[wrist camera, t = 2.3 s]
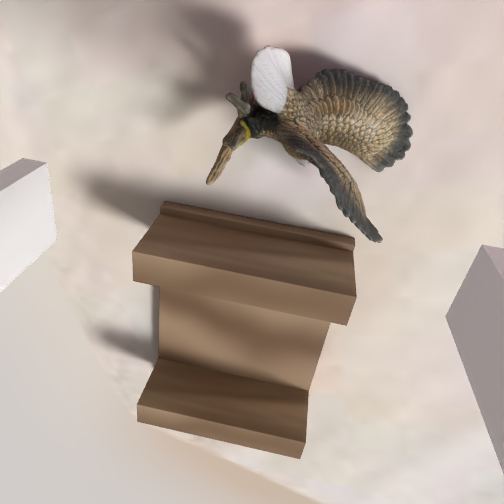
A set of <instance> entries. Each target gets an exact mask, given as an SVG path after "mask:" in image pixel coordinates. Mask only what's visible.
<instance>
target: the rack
mask: <svg viewBox="0 0 504 504" xmlns="http://www.w3.org/2000/svg"><path fill="white" fill-rule="evenodd" d="M354 247H355V238H351V237H345V236H340V235H335V234H330V233H325V232H320V231H315V230H310V229H305V228H299V227H294V226H289V225H284V224H279V223H274V222H269V221H264V220H259V219H253V218H248V217H243V216H238V215H233V214H228V213H223V212H218V211H213V210H207V209H202V208H197V207H192V206H187V205H182V204H177V203H172V202H167V201H165V202H164V203H163V204H162V205H161V208H160V215H159V216H158V218H157V219H156V220H155V222H154V223H153V224H152V226H151V227H150V228H149V230H148V231H147V232H146V234H145V235H144V236H143V238H142V239H141V240H140V242H139V243H138V244H137V246H136V247H135V248H134V250H133V251H132V260H133V281H135V282H140V283H145V284H150V285H155V286H159V358H158V360H157V363H156V365H155V367H154V369H153V371H152V373H151V375H150V378H149V380H148V382H147V384H146V386H145V388H144V390H143V393H142V395H141V397H140V399H139V401H138V403H137V421H138V422H141V423H146V424H150V425H154V426H159V427H163V428H167V429H172V430H176V431H180V432H185V433H189V434H193V435H198V436H202V437H206V438H211V439H215V440H219V441H224V442H228V443H232V444H237V445H241V446H245V447H250V448H254V449H258V450H263V451H267V452H271V453H276V454H280V455H284V456H289V457H293V458H298V459H300V458H301V455H302V452H303V449H304V446H305V443H306V428H307V411H308V393H309V388H310V385H311V382H312V379H313V376H314V373H315V370H316V366H317V363H318V360H319V357H320V354H321V351H322V348H323V344H324V341H325V338H326V335H327V332H328V329H329V326H330V322H332V323H336V324H341V325H346V326H347V323H348V320H349V317H350V315H351V312H352V309H353V306H354V303H355V300H356V284H355V271H354V259H353V250H354Z"/></svg>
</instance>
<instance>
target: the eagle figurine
mask: <svg viewBox="0 0 504 504" xmlns="http://www.w3.org/2000/svg"><path fill="white" fill-rule="evenodd" d="M250 76H251V88H252V91H253V93H251V94H250V95H249V90H248V86H247V84H246V83H245V81H241V83H240V90H241V92H242V95H241V100H240V99H239V98H238V97H237V96H235V95H234V94H231V93H228V94H227V95H226V99H227V100H228V101H229V102H231V103H232V104H233V105H234V106H235V107H236V108H237V110H238V115H239V116H238V117H237V119H236V121H235V123H234V124H233V126H232V128H231V129H230V131H229V132H228V134H227V135H226V136H225V137H224V139H223V145H222V147H221V149H220V152H219V154H218V157H217V159H216V162H215V164H214V166H213V168H212V169H211V171H210V173H209V175H208V177H207V180H206V184H208V185H210V184H212V183H213V182H215V180H216V179H217V178H218V177H219V176H220V175H221V173H222V171H223V169H224V167H225V165H226V163H227V162H228V161H229V160H230V157H231V154H232V152H233V151H234V150H235V149H236V148H237V147H239V146H241V145H242V144H243V143H245V142H246V141H247V140H248V139H249V138H257V139H258V138H261V137H263V136H267V137H269V138H273V139H275V140H277V141H279V142H281V143H282V144H283V146H284V148H285V150H286V151H287V152H288V153H289V154H290V155H291V156H293V157H294V158H295V159H296V161H297V162H298V163H299V164H301V165H303V166H304V167H305V166H307V165H308V164H309V162H310V163H312V164H313V165H315V166H316V167H317V168H318V169H319V171H320V175H321V177H322V178H324V180H325V181H326V183H327V184H328V185H329V187H330V192H331V193H332V194H333V195H334V196H335V198H336V204H337V207H338V208H339V210H342V212H343V214H344V216H345V217H349V219H350V221H351V222H352V223H354V224H355V226H356V227H357V228H358V229H359V230H360V231H361V232H362V233H363V234H365V236H366V237H367V238H368V239H369V240H371V241H374V242H378V243H381V241H382V240H383V239H382V237H381V236H380V235H379V234H378V230H377V229H376V228H375V227H374V226H373V224H372V223H371V222H370V220H369V219H368V218H367V217H366V213H365V207H364V204H363V200H362V197H361V194H360V191H359V189H358V186H357V183H356V182H355V180H354V179H353V178H352V176H351V174H350V173H349V172H348V170H347V169H346V167H345V166H344V165H343V164H342V162H341V161H340V160H339V159H338V158H337V157H336V156H335V155H334V154H333V153H332V152H331V151H330V150H329V149H328V147H326V146H325V145H324V144H328V145H333V146H337V147H340V148H342V149H345V150H347V151H349V152H350V153H353V154H355V155H357V156H359V157H360V158H361V159H362V160H363V161H364V163H366V164H367V165H369V166H370V167H371V168H372V169H373V170H375V171H377V172H381V171H383V169H384V168H385V167H392V166H393V165H394V162H395V160H401V159H403V158H404V157H405V151H408V150H409V149H410V147H411V144H410V141H409V138H410V137H411V136H412V135H413V132H412V129H411V127H410V126H409V125H408V124H407V122H408V121H410V118H411V116H410V115H409V114H408V113H407V110H408V105H407V103H405V100H404V99H403V98H402V97H400V94H399V92H397V91H395V90H393V89H392V87H391V86H384V85H383V84H380V83H378V82H377V81H372V82H369V80H368V79H364V78H362V77H361V76H353V74H352V73H351V72H347V71H346V70H344V69H341V70H339V69H333V70H327V69H324V70H322V72H318V73H316V75H315V78H314V79H311V80H309V81H308V85H307V86H301V87H300V89H299V90H298V91H297V90H295V86H294V82H293V76H292V70H291V61H290V56H289V54H288V53H287V52H286V51H285V50H284V49H282V48H274V47H271V46H266V47H264V48H263V49H261V50H258V52H257V53H256V55H255V57H254V58H253V60H252V63H251V74H250ZM265 116H266V117H265ZM267 117H269V118H267Z"/></svg>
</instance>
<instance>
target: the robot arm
mask: <svg viewBox="0 0 504 504" xmlns="http://www.w3.org/2000/svg"><path fill="white" fill-rule="evenodd" d="M56 240H57V232H56V225H55V218H54V211H53V203H52V196H51V189H50V182H49V174H48V167H47V163H46V162H40V161H35V160H30V159H24V158H22V159H21V160H19V161H17V162H15V163H13V164H12V165H10V166H8V167H6V168H4V169H3V170H1V171H0V292H1V291H2V290H3V289H5V288H6V287H7V286H8V285H9V284H10V283H11V282H12V281H13V280H14V279H15V278H16V277H17V276H19V275H20V274H21V273H22V272H23V271H24V270H25V269H26V268H27V267H28V266H29V265H30V264H32V263H33V262H34V261H35V260H36V259H37V258H38V257H39V256H40V255H41V254H42V253H43V252H45V251H46V250H47V249H48V248H49V247H50V246H51V245H52V244H53V243H54V242H55V241H56ZM446 319H447V322H448V325H449V327H450V330H451V333H452V335H453V338H454V341H455V343H456V346H457V349H458V352H459V354H460V357H461V360H462V362H463V365H464V368H465V370H466V373H467V376H468V379H469V381H470V384H471V387H472V389H473V392H474V395H475V398H476V400H477V403H478V406H479V408H480V411H481V414H482V416H483V419H484V422H485V425H486V427H487V430H488V433H489V435H490V438H491V441H492V443H493V446H494V449H495V452H496V454H497V457H498V460H499V462H500V465H501V468H502V471H503V473H504V249H502V248H497V247H492V246H486V245H482V246H481V248H480V250H479V252H478V254H477V256H476V258H475V260H474V261H473V263H472V265H471V267H470V269H469V271H468V273H467V275H466V277H465V279H464V281H463V283H462V285H461V287H460V289H459V291H458V293H457V295H456V297H455V299H454V301H453V303H452V305H451V307H450V309H449V311H448V313H447V314H446Z"/></svg>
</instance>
